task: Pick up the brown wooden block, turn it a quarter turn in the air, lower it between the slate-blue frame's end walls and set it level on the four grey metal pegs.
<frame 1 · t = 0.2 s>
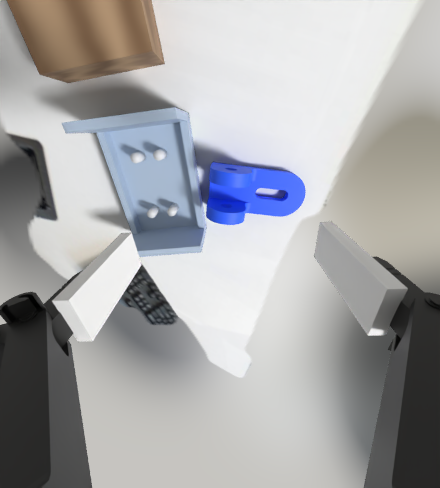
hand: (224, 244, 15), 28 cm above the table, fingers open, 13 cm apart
frame: (160, 182, 40), on the table
brown wooden block: (105, 39, 30), on the table
bracket: (255, 189, 40), on the table
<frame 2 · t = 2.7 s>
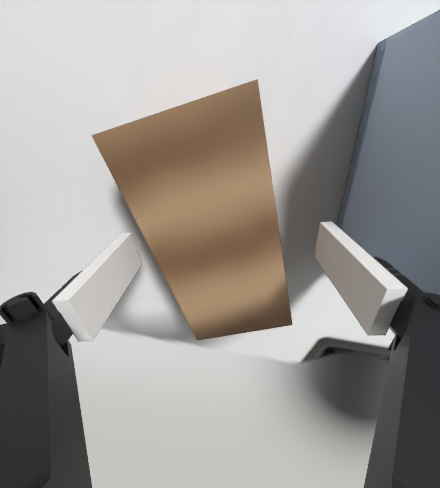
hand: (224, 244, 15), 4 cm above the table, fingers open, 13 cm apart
brown wooden block: (218, 217, 18), on the table
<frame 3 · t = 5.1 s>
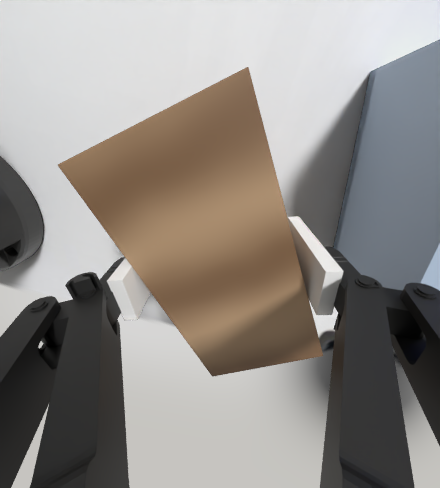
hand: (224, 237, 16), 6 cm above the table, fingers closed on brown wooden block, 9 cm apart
brown wooden block: (224, 233, 16), point 5 cm above the table, touching gripper
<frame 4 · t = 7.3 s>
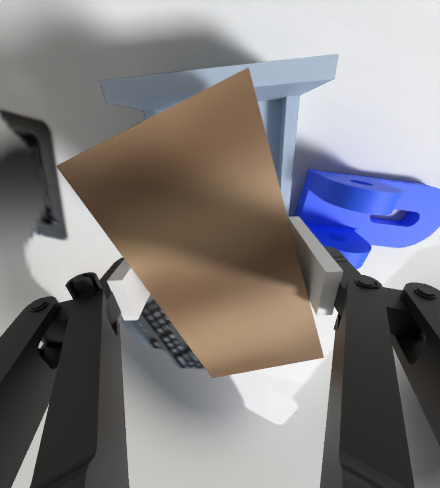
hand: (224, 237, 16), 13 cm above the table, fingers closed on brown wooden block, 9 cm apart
frame: (225, 191, 27), on the table
brown wooden block: (224, 234, 16), point 12 cm above the table, touching gripper
bracket: (363, 208, 28), on the table
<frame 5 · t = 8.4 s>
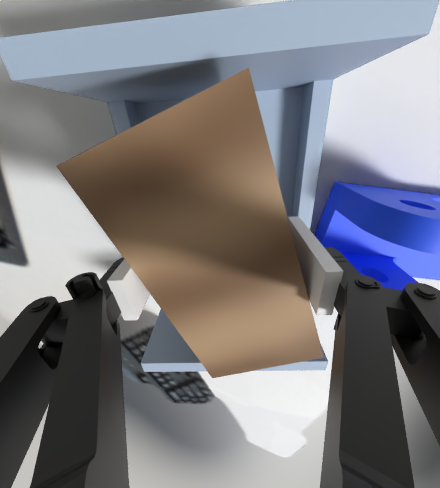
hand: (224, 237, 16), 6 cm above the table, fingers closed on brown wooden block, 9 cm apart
frame: (225, 209, 21), on the table
brown wooden block: (225, 234, 16), point 5 cm above the table, touching gripper
bracket: (401, 230, 22), on the table
when the fingers open (5 cm above the table, at t = 9.5 s): brown wooden block stays where it is, resting on frame.
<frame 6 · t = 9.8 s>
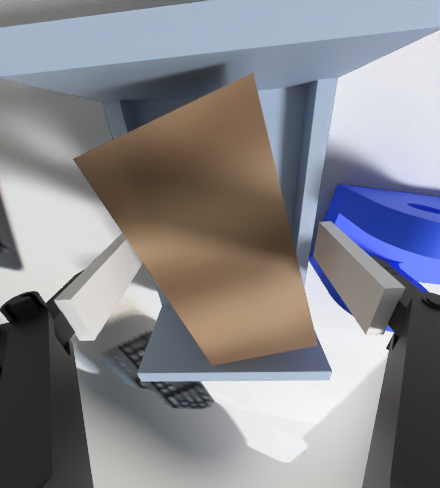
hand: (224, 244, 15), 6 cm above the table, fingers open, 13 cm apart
frame: (225, 213, 20), on the table
brown wooden block: (225, 229, 17), point 4 cm above the table, touching frame
bracket: (406, 234, 21), on the table
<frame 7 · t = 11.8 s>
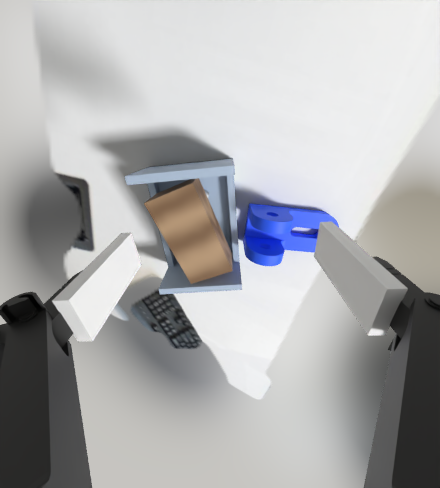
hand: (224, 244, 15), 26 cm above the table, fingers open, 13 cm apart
frame: (198, 218, 41), on the table
brown wooden block: (196, 225, 38), point 4 cm above the table, touching frame
bracket: (289, 226, 42), on the table
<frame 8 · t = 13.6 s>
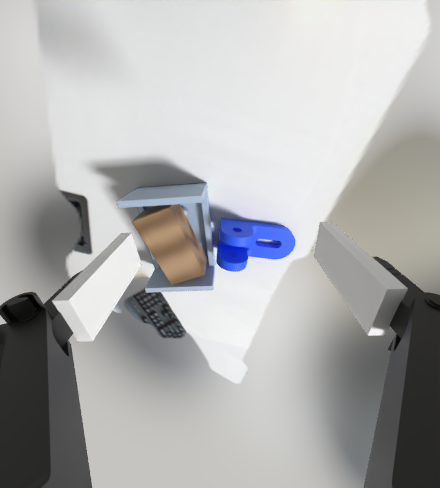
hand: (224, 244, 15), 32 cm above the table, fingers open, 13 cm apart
frame: (180, 229, 49), on the table
brown wooden block: (177, 236, 46), point 4 cm above the table, touching frame
bracket: (255, 237, 50), on the table
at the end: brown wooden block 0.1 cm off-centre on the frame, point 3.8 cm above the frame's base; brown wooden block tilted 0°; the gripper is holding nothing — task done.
